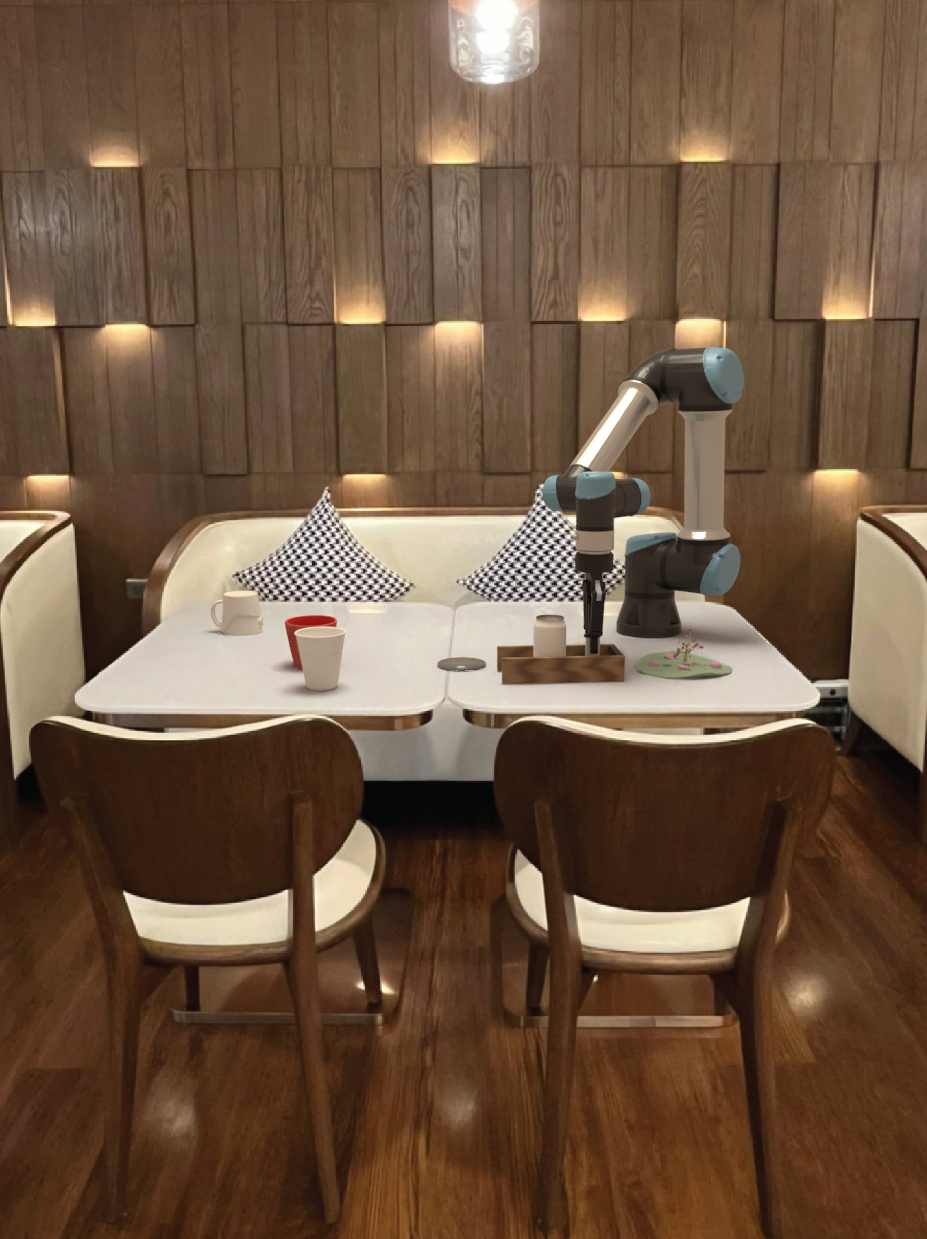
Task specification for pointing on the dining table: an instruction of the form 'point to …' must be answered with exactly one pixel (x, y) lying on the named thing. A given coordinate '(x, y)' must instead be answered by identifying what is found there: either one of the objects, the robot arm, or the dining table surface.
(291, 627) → the flower pot
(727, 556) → the robot arm
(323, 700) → the dining table surface
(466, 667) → the coaster
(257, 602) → the mug
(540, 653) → the can
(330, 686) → the cup
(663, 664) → the plant
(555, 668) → the channel
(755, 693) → the dining table surface
